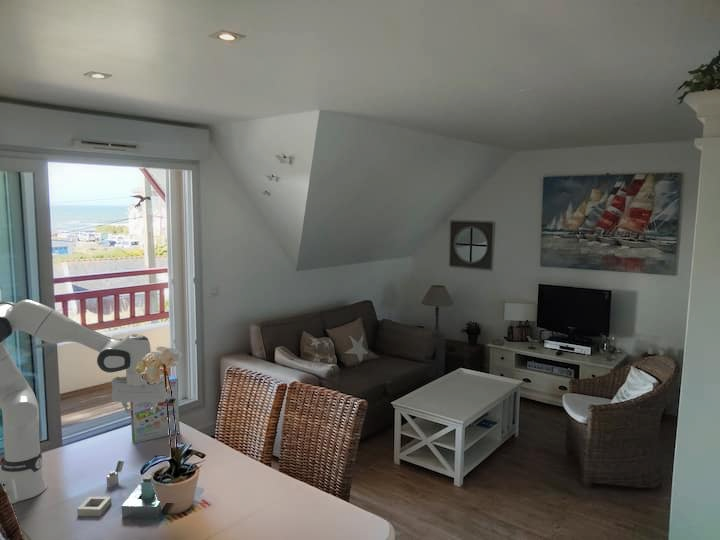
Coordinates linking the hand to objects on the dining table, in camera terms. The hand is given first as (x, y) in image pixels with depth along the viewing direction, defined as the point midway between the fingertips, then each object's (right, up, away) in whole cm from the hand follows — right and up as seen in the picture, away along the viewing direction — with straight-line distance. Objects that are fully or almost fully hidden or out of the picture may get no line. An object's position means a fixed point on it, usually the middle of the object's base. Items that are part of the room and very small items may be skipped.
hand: (140, 412), depth 200 cm
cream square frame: (-11, -31, -13) cm, 35 cm away
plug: (+8, -30, -11) cm, 33 cm away
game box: (-12, -24, +46) cm, 53 cm away
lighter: (-11, -29, +4) cm, 31 cm away
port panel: (+7, -31, -12) cm, 34 cm away
